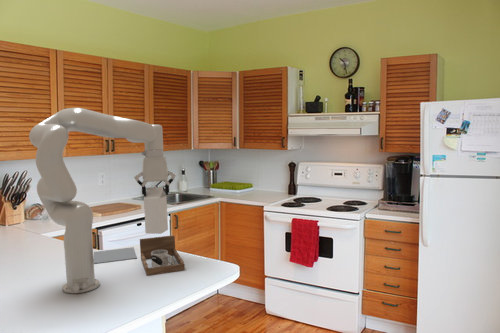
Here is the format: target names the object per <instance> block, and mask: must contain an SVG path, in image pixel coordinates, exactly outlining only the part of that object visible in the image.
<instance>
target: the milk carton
mask: <svg viewBox="0 0 500 333" xmlns="http://www.w3.org/2000/svg"><path fill="white" fill-rule="evenodd" d="M167 199H168V198H167V195H166V194H165V190H164V187H146V196H143V204H144V231H145V234H154V235H155V234H156V235H157V234H160V235H161V234H164V233H165V232H167V231H168V230H169V224H168V204H167V203H168V202H167V201H168V200H167Z"/></svg>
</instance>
